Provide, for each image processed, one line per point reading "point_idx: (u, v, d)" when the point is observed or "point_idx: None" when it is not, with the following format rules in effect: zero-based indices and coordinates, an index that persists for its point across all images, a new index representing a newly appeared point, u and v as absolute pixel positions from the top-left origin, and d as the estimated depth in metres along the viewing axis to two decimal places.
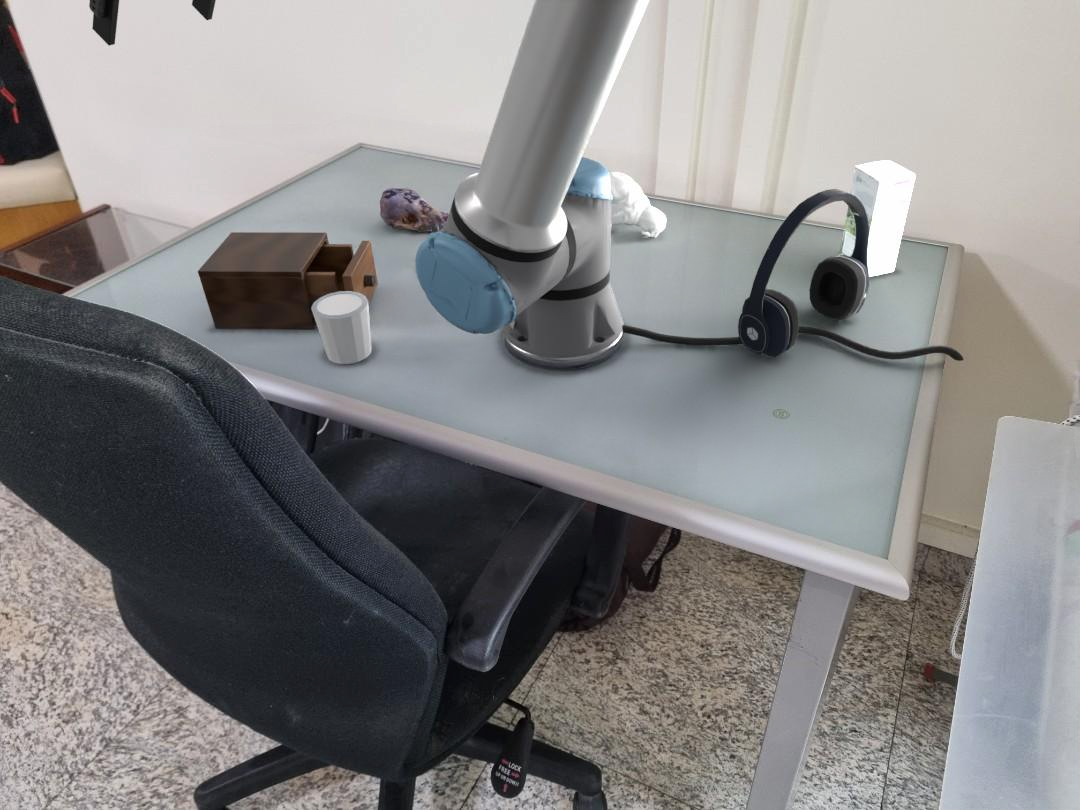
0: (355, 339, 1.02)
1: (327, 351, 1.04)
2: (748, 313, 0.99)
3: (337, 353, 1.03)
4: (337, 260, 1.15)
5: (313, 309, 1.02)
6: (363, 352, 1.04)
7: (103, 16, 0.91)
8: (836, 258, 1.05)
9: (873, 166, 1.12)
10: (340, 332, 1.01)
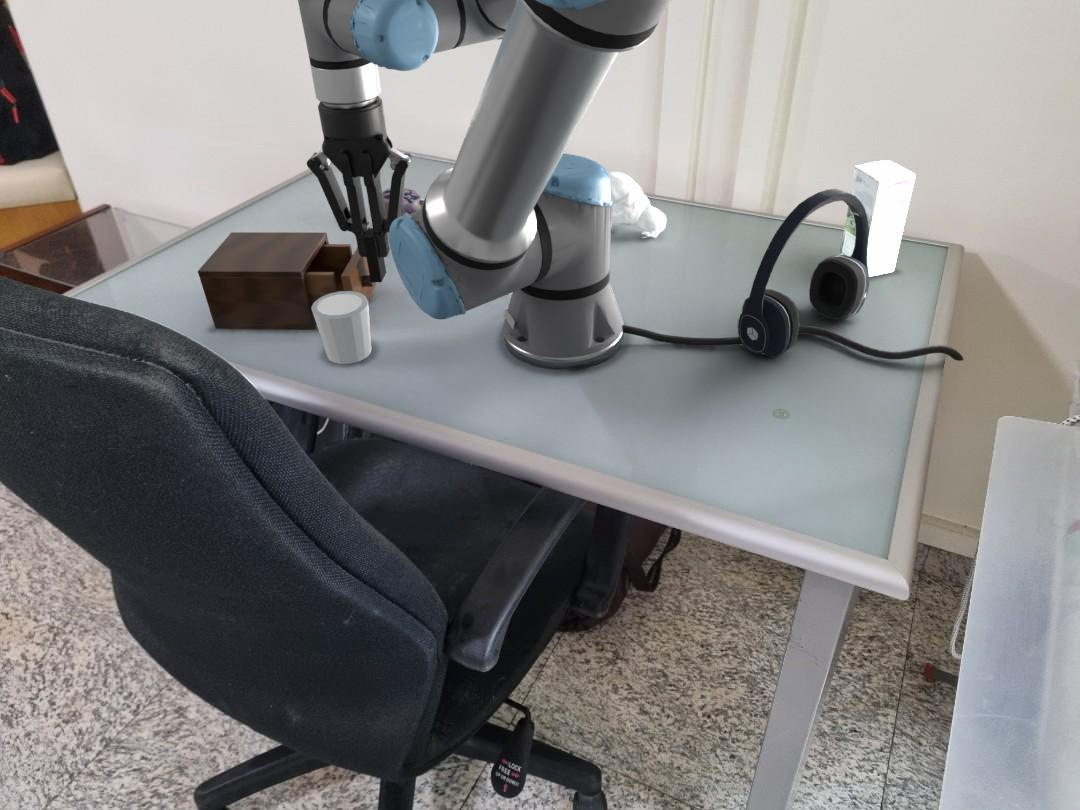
0: (355, 339, 1.02)
1: (327, 351, 1.04)
2: (748, 313, 0.99)
3: (337, 353, 1.03)
4: (336, 260, 1.15)
5: (313, 309, 1.02)
6: (363, 352, 1.04)
7: (364, 255, 1.10)
8: (836, 258, 1.05)
9: (873, 166, 1.12)
10: (340, 332, 1.01)
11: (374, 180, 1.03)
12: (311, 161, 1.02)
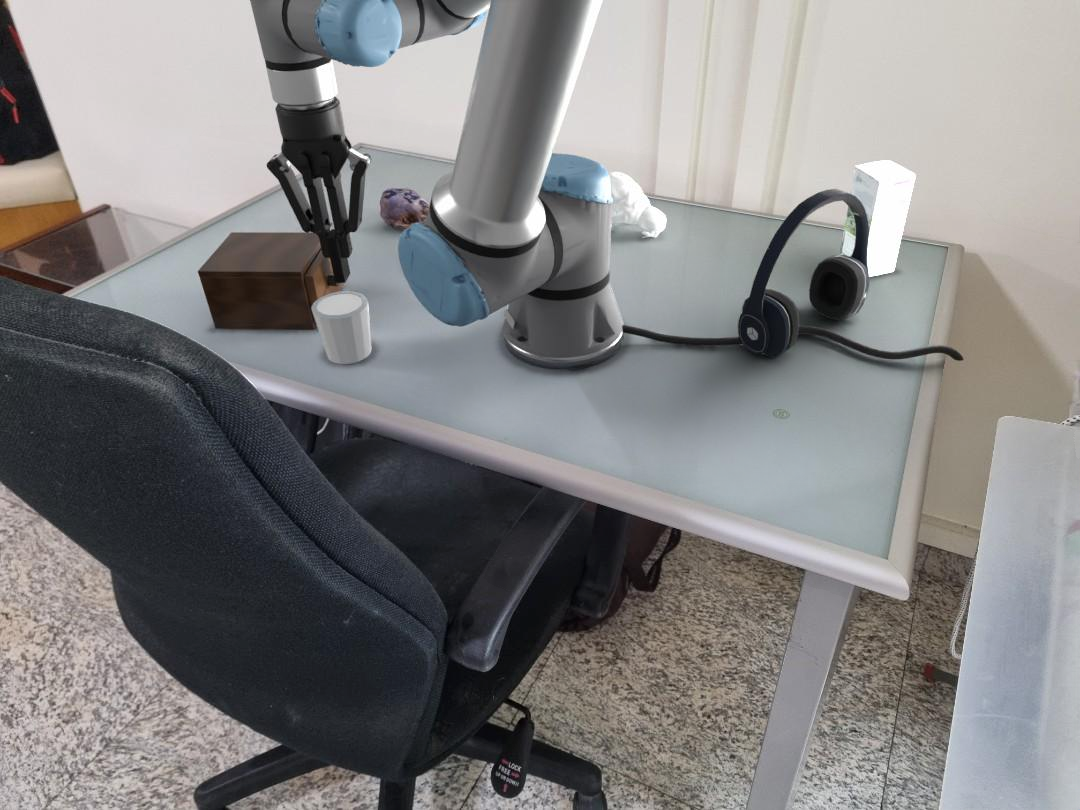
0: (355, 339, 1.02)
1: (327, 351, 1.04)
2: (748, 313, 0.99)
3: (337, 353, 1.03)
4: None
5: (313, 309, 1.02)
6: (363, 352, 1.04)
7: (328, 256, 1.11)
8: (836, 258, 1.05)
9: (873, 166, 1.12)
10: (340, 332, 1.01)
11: (334, 181, 1.04)
12: (271, 163, 1.03)
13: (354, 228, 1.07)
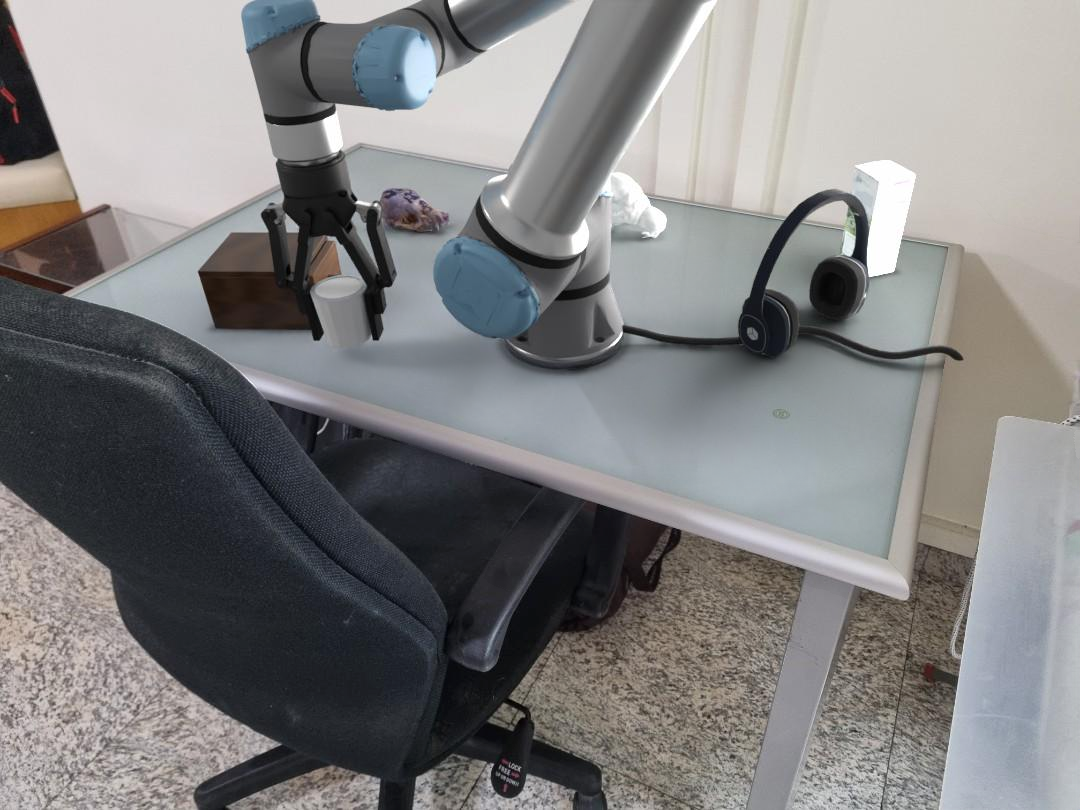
0: (355, 323, 1.01)
1: (327, 336, 1.03)
2: (748, 313, 0.99)
3: (336, 338, 1.02)
4: None
5: (312, 293, 1.00)
6: (363, 336, 1.03)
7: (305, 313, 1.03)
8: (836, 258, 1.05)
9: (873, 166, 1.12)
10: (339, 315, 1.00)
11: (348, 236, 0.95)
12: (266, 213, 0.95)
13: (389, 282, 0.98)
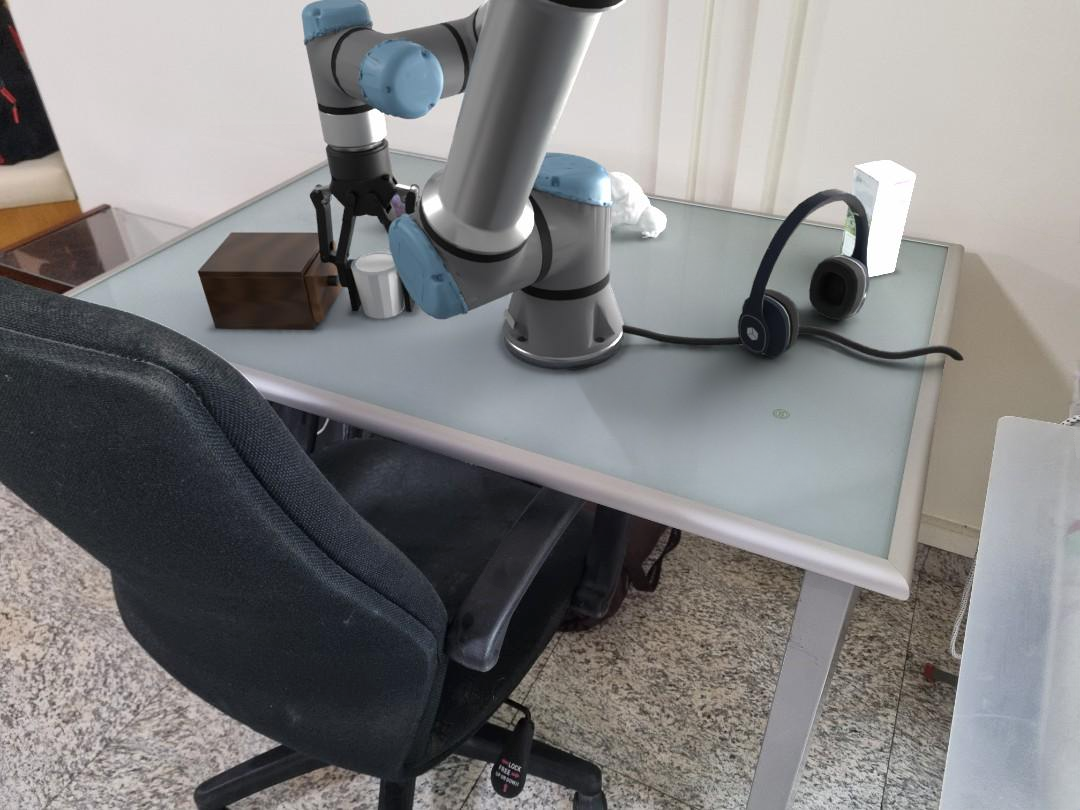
0: (391, 295, 1.11)
1: (364, 306, 1.13)
2: (748, 313, 0.99)
3: (374, 308, 1.12)
4: None
5: (352, 267, 1.10)
6: (397, 307, 1.13)
7: (345, 285, 1.13)
8: (836, 258, 1.05)
9: (873, 166, 1.12)
10: (377, 288, 1.10)
11: (388, 215, 1.06)
12: (315, 193, 1.05)
13: None
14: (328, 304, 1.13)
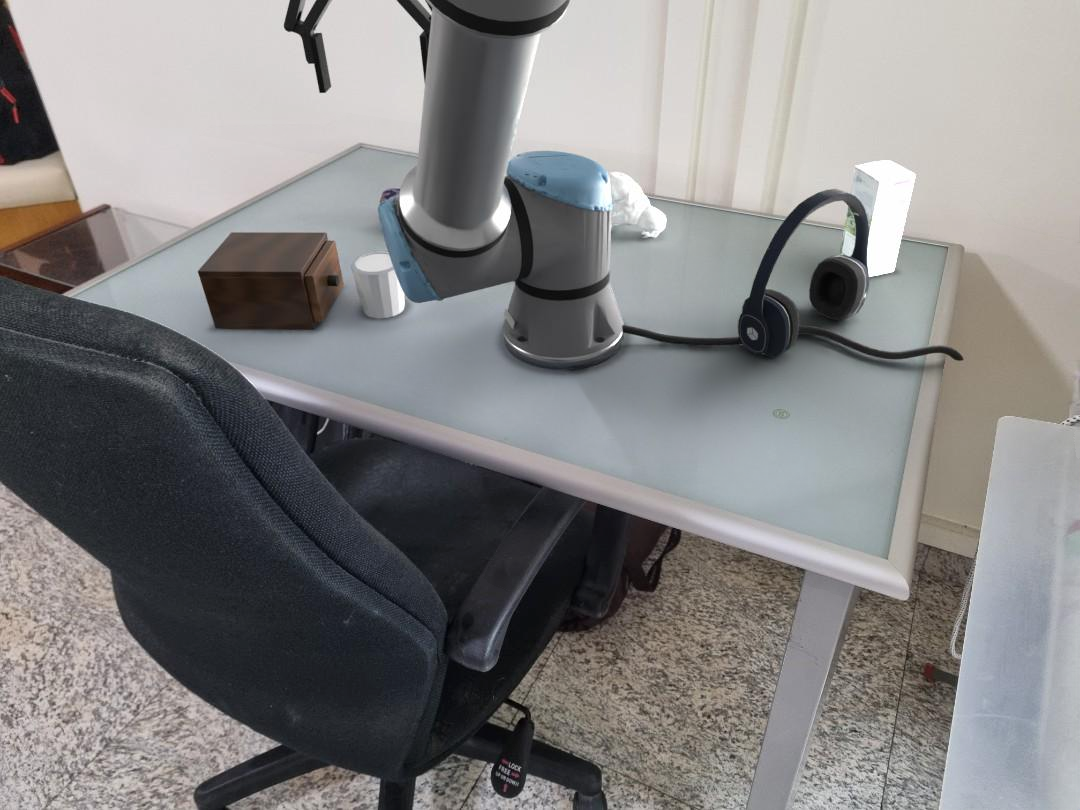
0: (391, 294, 1.11)
1: (364, 306, 1.13)
2: (748, 313, 0.99)
3: (374, 308, 1.12)
4: None
5: (352, 267, 1.10)
6: (397, 307, 1.13)
7: (311, 62, 1.04)
8: (836, 258, 1.05)
9: (873, 166, 1.12)
10: (377, 287, 1.10)
11: None
12: None
13: None
14: (328, 304, 1.13)
